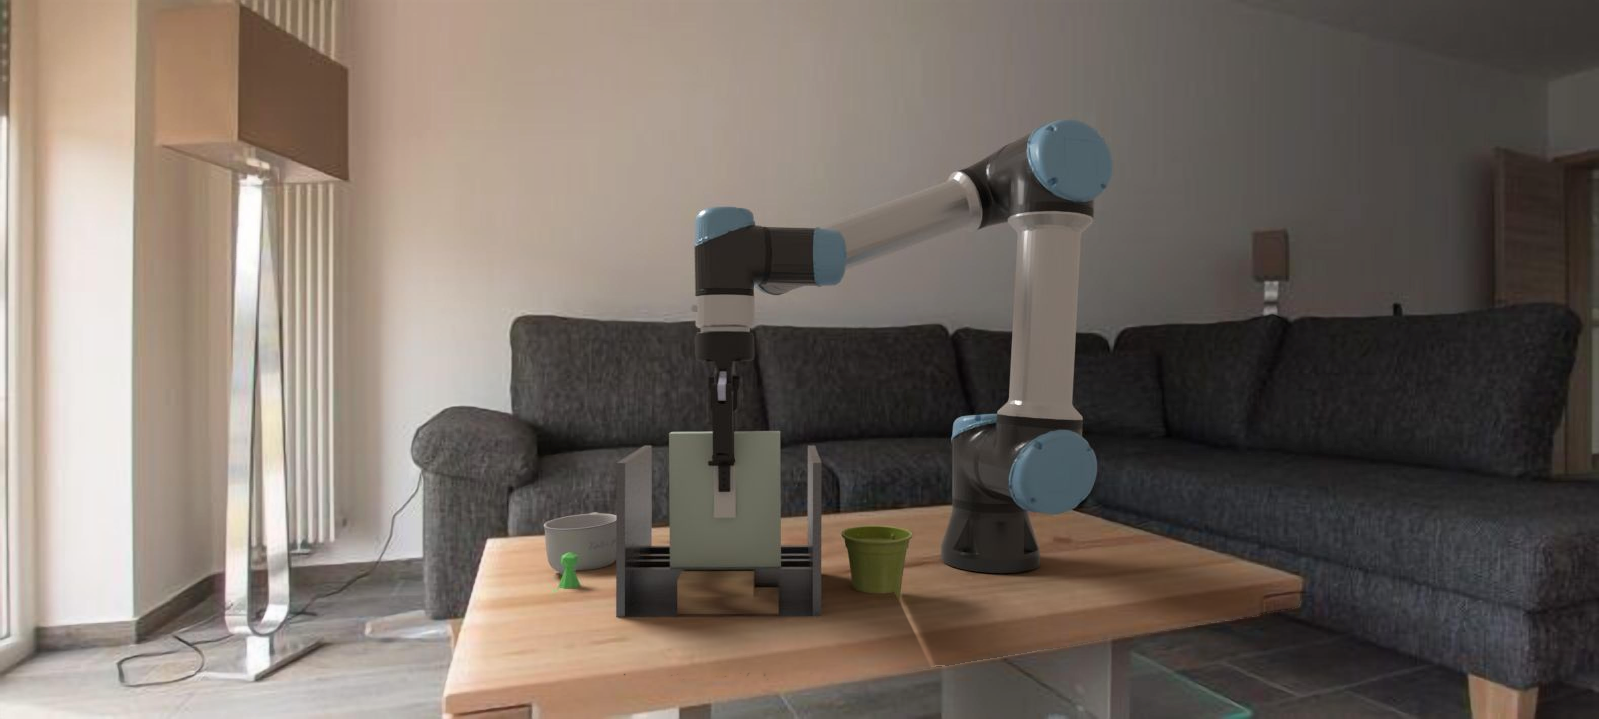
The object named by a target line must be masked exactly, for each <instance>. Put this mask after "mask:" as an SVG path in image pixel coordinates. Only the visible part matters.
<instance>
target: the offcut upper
mask: <svg viewBox="0 0 1599 719" xmlns="http://www.w3.org/2000/svg"><path fill="white" fill-rule="evenodd" d="M754 588H755V571H682V572H681V574H680V576H679V578H678V580H677V597H753V596H754Z"/></svg>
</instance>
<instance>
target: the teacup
mask: <svg viewBox="0 0 1599 719" xmlns="http://www.w3.org/2000/svg"><path fill="white" fill-rule="evenodd" d="M543 528H544V539H545V550H546V552H545V553H546V557H547V558H546V559H547V562H548V564H549V566H550V567H551V568H552V569H553V570H555V571H556V572H558V573H559V574H560V575H561V576H563V573H564V570H565V568H566V567H565V566H563V565H561V558H562V556H563V555H564V554H566V553H568V552H571V553H573V554H576V555H578V563H577V565H575V566H573V568H574V570H575V572H577V571H588V570H596V569H597V570H598V569H602V568H606V567H608V566H610V565H613V563H614V562H615V561H616V514H611V513H600V512H597V511H595V512H590V513H582V514H574V515H573V514H572V515H567V516H563V517H558V518H554V519H551V520H547V521H546V522H545V523H544V524H543Z"/></svg>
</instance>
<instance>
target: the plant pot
mask: <svg viewBox="0 0 1599 719" xmlns="http://www.w3.org/2000/svg"><path fill="white" fill-rule="evenodd" d="M840 533H841V537H842V538H843V539H844V544H845V548H846V550H847V556H848V562H849V569H850V575H851V576H850V577H851V582H852V585H851V586H852V588H853V589H855V590H856V591H859V592H861V593H868V594H889V593H894V594H895V596H896V599H897V600H900V598H901V592H902V591H901V590H902V585H903V576H904V570H905V561H906V554H907V550H908V548H909V545H910V540H911V539H913V533H912V531H910V530H908V529H906V528H902V527H896V526H891V525H890V526H889V525H862V526H861V525H859V526H854V527H847V528H846V529H843V530H842V531H841V532H840Z"/></svg>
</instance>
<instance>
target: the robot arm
mask: <svg viewBox="0 0 1599 719" xmlns="http://www.w3.org/2000/svg"><path fill="white" fill-rule="evenodd" d="M1112 156H1113V155H1112V152H1111V150H1110V147H1109V145H1108V143H1107V142H1106V140H1105V139H1104V137H1102V136H1101V135H1100V134H1099V132H1098V131H1097V130H1096V128H1094V127H1093V126H1092V125H1090V124H1088V123H1086V122H1084V121H1082V120H1079V119H1072V118H1063V119H1058V120H1056V121H1053V122H1050V123H1045V124H1043V125H1040V126H1038V127H1037V128H1035V129H1034V130H1033V131H1032V132H1030V133H1028V134H1027V135H1026V134H1025V135H1024V136H1022V137H1020V138H1019V139H1016V140H1015V141H1012V142H1010V143H1008V144H1006V145H1004V146H1002V147H1001V148H999V149H997V150H996V151H994V152H992V154H989V155H988V156H986V157H985V158H983V159H981V160H979V161H977V162H975V163H972V165H970V166H967V167H965V168H962V169H960V170H957V171H954V172H952V173H951V174H949V176H948V179H947V181H945V182H943V183H939V184H936V185H934V186H930V187H928V188H924V189H922V190H919V191H917V192H912V193H909V194H908V195H905V196H902V197H899V198H896V199H893V200H890V201H887V202H885V203H881V204H879V205H877V206H876V205H875V206H873V207H870V208H868V209H864V210H861V211H859V212H856V213H853V214H850V215H847V216H844V217H841V218H839V219H835V220H832V221H829V222H826V223H824V224H821V225H818V226H815V227H779V226H777V227H775V226H762V225H756V221H755V219H754V213H753V211H751V210H750V209H748V208H743V207H736V206H713V207H708V208H704V209H702V210H700V211H699V213H698V214H697V215H696V217H695V229H694V230H695V231H694V232H695V234H694V245H693V249H694V289H695V292H694V294H695V302H696V303H695V304H691V305H690V307H689V308H690V311H691V312H692V313H695V327H696V328H697V329H700V332H696V334H695V336H694V344H695V345H694V346H695V347H694V349H695V350H694V351H695V354H694V356H695V360H697V361H698V362H714V368H713V370H714V371H713V375H710V376H708V389H709V390H710V393H709V394H710V396H709V398H710V401H709V402H710V405H709V407H710V409H711V411H712V412H711V414H712V418H711V420H712V422H711V424H712V432H713V456H712V460H713V461H708V466H714V518H736V465H734V463H735V459H734V431H738V409H739V408H740V389H741V387H742V376H741V375H736V362H751V361H753V360H754V359H755V334H754V333H753V332H751V329H753V328H754V327H755V320H756V319H755V318H756V317H755V291H754V290H755V288H756V289H757V290H759V292H762V293H763V294H767V295H772V296H781V295H784V294H787V293H789V292H791V291H792V290H797V289H799V288H802V287H806V286H807V287H808V286H809V287H817V288H821V287H825V286H827V287H829V286H832V287H833V286H836V285H838V284H840V283H841V282H842V280H843V278H844V276H845V272H846V271H847V270H850V269H854V268H855V267H859V266H862V265H864V264H867V263H869V262H872V261H876V260H878V259H881V258H884V257H886V256H889V255H892V254H895V253H897V252H901V251H903V250H906V249H908V248H912V247H914V246H917V245H921V244H923V243H926V242H928V241H931V240H934V239H937V238H940V237H942V236H946V235H947V234H951V233H954V232H956V231H959V230H962V229H963V230H964V231H966V232H970V233H971V232H976V231H978V230H981V229H984V228H987V227H991V226H997V225H999V224H1004V223H1005V224H1006V223H1008V224H1009V225H1010V226H1011V228H1012V229H1014V231H1015V232H1016V233H1017V234H1016V235H1017V241H1016V262H1015V278H1014V297H1013V313H1012V314H1013V317H1012V319H1013V320H1012V332H1011V333H1012V338H1011V354H1010V371H1009V373H1010V375H1009V390H1008V392H1009V393H1008V396H1009V397H1008V400H1007V402H1006V403H1005V404H1004V405H1002V406H1001V407H1000V408H999V409H998V410H997V413H986V414H985V413H984V414H972V415H971V414H970V415H969V414H968V415H964V416H960V417H958V418H956V419H955V420H954V422H953V425H952V435H951V438H950V440H951V441H950V443H951V459H952V460H951V464H952V465H951V467H952V468H951V472H952V473H951V474H952V476H951V478H952V485H951V486H952V487H951V488H952V489H951V491H952V492H951V493H952V498H951V500H952V508H951V510H952V511H951V514H950V517H949V520H948V523H947V526H946V528H945V532H944V535H943V538H942V541H941V545H940V560H941V562H943V563H944V564H946V565H947V566H950V567H953V568H956V569H960V570H963V571H964V570H965V571H969V572H971V571H972V572H978V573H986V574H987V573H989V574H1015V573H1023V572H1029V571H1033V570H1036V569H1037V568H1039V567H1040V565H1041V550H1040V546H1039V543H1038V541H1037V540H1038V539H1037V538H1036V534H1035V532H1034V528H1033V525H1032V522H1031V519H1030V515H1029V514H1030V513H1034V514H1036V513H1039V514H1043V515H1053V516H1054V515H1062V514H1064V513H1067V512H1070V511H1072V510H1074V509H1075V508H1076V507H1078V505H1079V504H1080V503H1082V501H1085V499H1086V498H1087V497H1088V495H1090V493H1091V491H1092V489H1093V487H1094V484H1095V482H1096V478H1097V473H1098V461H1097V457H1096V453H1095V451H1094V449H1093V448H1092V447H1091V446H1090V444H1089V442H1088V441H1087V440H1086V439H1085V438H1084V437H1083V420H1084V419H1083V416H1082V414H1080V412H1079V411H1078V410H1077V409H1076V408H1075V407H1074V404H1073V397H1074V396H1073V394H1074V393H1073V392H1074V374H1075V359H1076V358H1075V356H1076V354H1075V353H1076V337H1077V336H1076V335H1077V334H1076V333H1077V317H1078V316H1077V314H1078V300H1079V282H1080V281H1079V279H1080V278H1079V277H1080V262H1081V260H1080V259H1081V242H1082V241H1081V240H1082V234H1083V232H1084V231H1086V230H1087V229H1088V228H1089V227H1090V226H1091V225H1092V224H1093V223H1094V212H1095V199H1096V198H1098V197H1099V196H1100V195H1101V194H1102V193H1103V192H1104V190H1105V189H1107V187H1108V186H1109V184H1110V181H1111V179H1112V176H1113V171H1114V168H1113V167H1114V163H1113V162H1114V161H1113V157H1112ZM1029 512H1030V513H1029Z"/></svg>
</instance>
